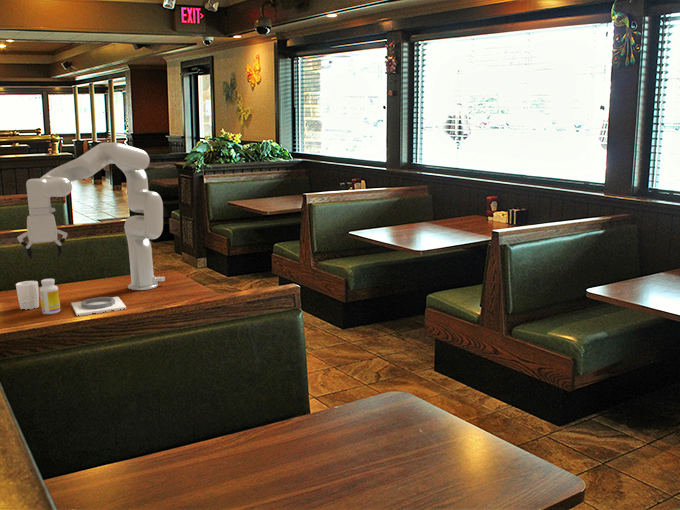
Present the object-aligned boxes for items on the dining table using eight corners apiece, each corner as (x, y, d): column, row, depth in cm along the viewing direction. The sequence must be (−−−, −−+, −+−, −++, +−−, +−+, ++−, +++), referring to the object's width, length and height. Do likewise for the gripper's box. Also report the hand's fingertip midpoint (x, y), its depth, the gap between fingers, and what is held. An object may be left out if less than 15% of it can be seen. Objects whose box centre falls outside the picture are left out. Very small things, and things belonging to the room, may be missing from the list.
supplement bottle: (64, 310, 258) (60, 277, 255) (55, 314, 251) (51, 281, 249) (47, 309, 259) (44, 277, 256) (38, 314, 252) (34, 281, 250)
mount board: (118, 298, 273) (117, 293, 272) (126, 309, 257) (125, 303, 257) (71, 305, 265) (71, 299, 264) (76, 316, 249) (76, 309, 249)
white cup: (23, 305, 266) (20, 281, 264) (43, 304, 266) (40, 280, 264) (15, 310, 258) (12, 285, 256) (36, 310, 259) (33, 285, 257)
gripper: (64, 209, 255) (68, 253, 258) (14, 212, 247) (19, 257, 250) (66, 211, 248) (70, 256, 251) (15, 214, 240) (20, 261, 243)
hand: (44, 257), depth 251 cm, fingers open, 9 cm apart
